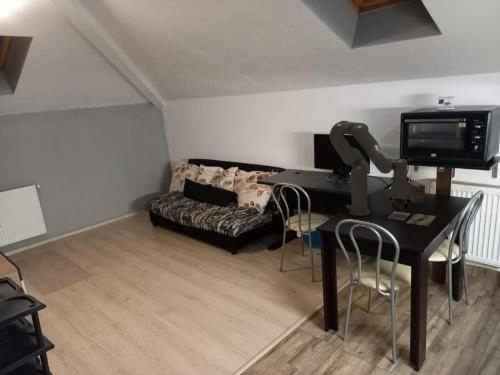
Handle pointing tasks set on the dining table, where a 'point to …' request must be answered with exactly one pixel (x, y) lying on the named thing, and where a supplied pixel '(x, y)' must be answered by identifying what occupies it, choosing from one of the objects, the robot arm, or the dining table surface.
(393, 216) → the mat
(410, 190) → the stack of blocks
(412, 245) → the dining table surface
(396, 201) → the walnut block
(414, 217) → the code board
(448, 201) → the dining table surface
